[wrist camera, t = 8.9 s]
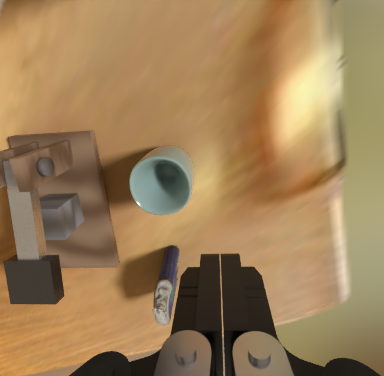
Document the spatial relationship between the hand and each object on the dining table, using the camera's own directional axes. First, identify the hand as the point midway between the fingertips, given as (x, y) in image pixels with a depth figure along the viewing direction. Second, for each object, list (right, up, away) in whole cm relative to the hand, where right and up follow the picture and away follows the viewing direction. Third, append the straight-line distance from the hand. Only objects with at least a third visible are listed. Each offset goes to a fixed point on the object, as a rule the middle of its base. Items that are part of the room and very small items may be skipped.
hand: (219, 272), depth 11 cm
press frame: (-22, +1, +35) cm, 41 cm away
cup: (-4, +7, +31) cm, 32 cm away
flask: (-5, -11, +38) cm, 40 cm away
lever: (-23, -2, +25) cm, 34 cm away
